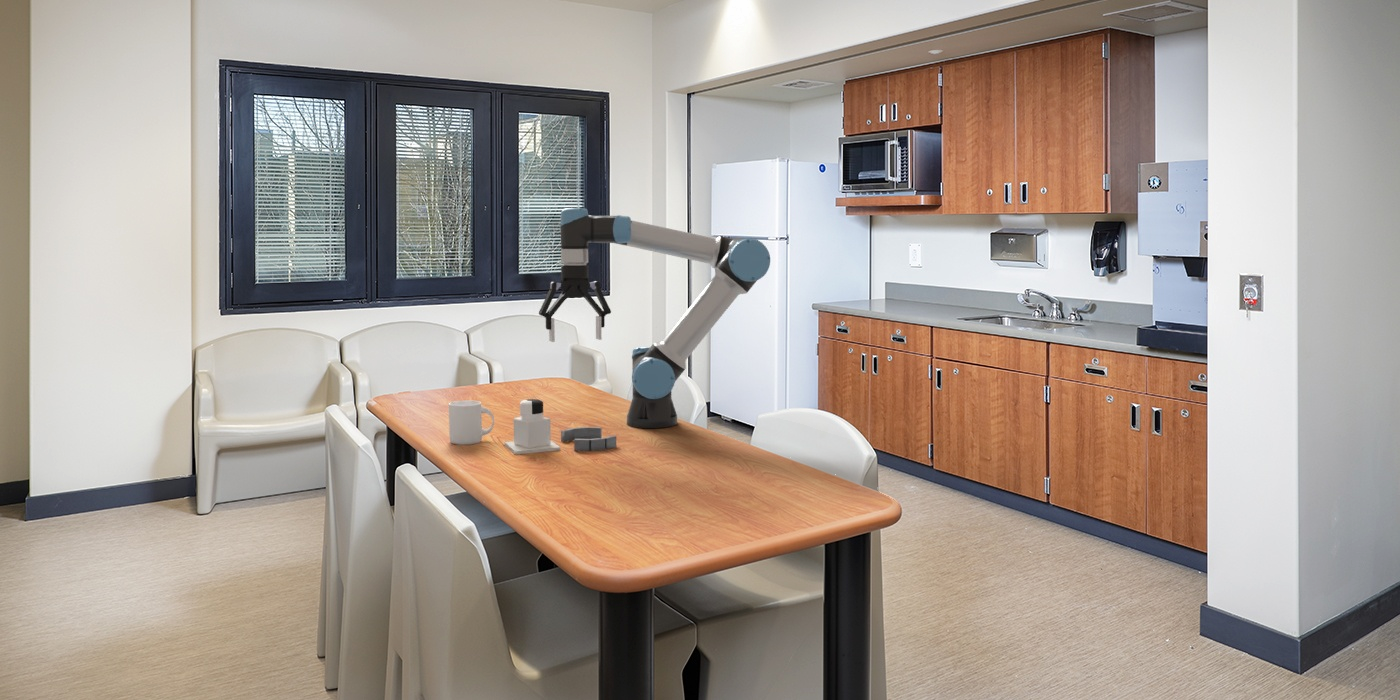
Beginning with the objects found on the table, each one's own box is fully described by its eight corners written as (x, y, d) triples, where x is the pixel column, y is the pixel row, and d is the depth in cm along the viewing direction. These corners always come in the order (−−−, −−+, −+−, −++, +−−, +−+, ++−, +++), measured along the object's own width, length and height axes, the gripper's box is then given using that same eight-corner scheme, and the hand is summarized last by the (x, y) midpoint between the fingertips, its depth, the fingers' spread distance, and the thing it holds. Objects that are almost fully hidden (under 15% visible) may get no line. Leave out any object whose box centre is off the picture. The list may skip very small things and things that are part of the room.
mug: (496, 442, 261) (496, 404, 260) (451, 446, 257) (450, 406, 256) (492, 436, 269) (491, 398, 268) (448, 439, 265) (447, 401, 264)
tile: (548, 441, 264) (547, 438, 264) (560, 450, 253) (560, 447, 253) (504, 444, 259) (504, 441, 259) (515, 454, 248) (515, 451, 248)
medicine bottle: (536, 440, 261) (535, 396, 259) (551, 444, 256) (550, 400, 254) (513, 444, 256) (512, 399, 254) (528, 448, 251) (527, 403, 249)
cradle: (599, 436, 270) (599, 425, 270) (619, 448, 255) (619, 437, 255) (559, 439, 265) (558, 429, 265) (576, 452, 250) (576, 441, 250)
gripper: (612, 263, 276) (613, 336, 278) (527, 264, 266) (528, 340, 268) (621, 264, 269) (622, 339, 272) (534, 265, 259) (535, 343, 261)
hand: (575, 340), depth 270 cm, fingers open, 13 cm apart
